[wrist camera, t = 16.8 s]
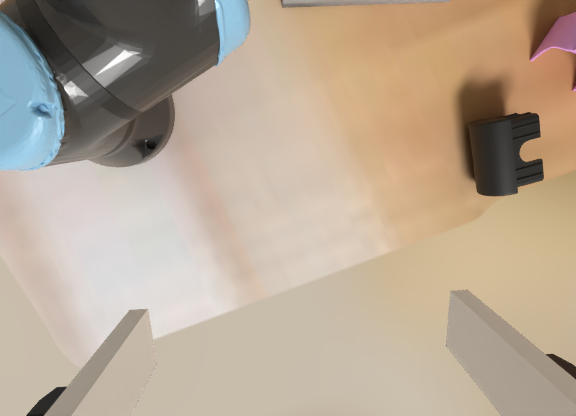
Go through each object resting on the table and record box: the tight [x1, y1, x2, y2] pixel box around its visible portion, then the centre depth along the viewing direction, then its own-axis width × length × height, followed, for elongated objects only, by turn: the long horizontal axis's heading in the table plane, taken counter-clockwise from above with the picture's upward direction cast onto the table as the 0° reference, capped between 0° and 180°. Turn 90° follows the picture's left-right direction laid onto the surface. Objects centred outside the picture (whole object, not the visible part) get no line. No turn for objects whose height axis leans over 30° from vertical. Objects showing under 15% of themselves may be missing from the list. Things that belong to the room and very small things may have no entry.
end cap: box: [468, 112, 544, 196], centre depth 44 cm, size 10×7×7 cm
